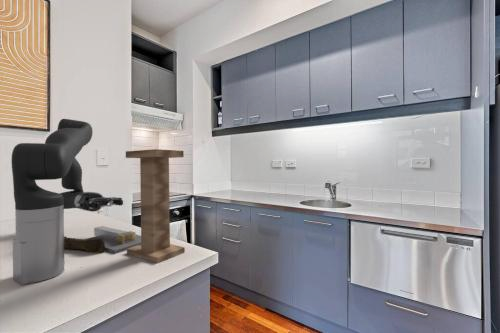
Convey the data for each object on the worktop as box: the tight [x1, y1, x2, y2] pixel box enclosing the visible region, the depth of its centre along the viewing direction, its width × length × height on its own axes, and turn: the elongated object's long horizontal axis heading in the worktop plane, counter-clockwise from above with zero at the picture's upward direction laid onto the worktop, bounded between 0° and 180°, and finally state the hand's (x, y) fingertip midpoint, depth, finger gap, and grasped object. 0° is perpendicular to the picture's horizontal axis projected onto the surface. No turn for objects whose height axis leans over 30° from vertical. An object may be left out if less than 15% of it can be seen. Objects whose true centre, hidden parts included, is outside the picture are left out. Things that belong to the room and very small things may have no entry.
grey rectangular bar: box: [93, 225, 136, 244], centre depth 89 cm, size 5×20×3 cm, turn 59°
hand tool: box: [64, 236, 106, 254], centre depth 79 cm, size 19×4×5 cm, turn 71°
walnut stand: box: [125, 148, 186, 264], centre depth 76 cm, size 10×15×32 cm, turn 58°
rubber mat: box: [86, 233, 141, 255], centre depth 88 cm, size 14×22×1 cm, turn 58°
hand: (110, 204), depth 90 cm, fingers open, 8 cm apart
